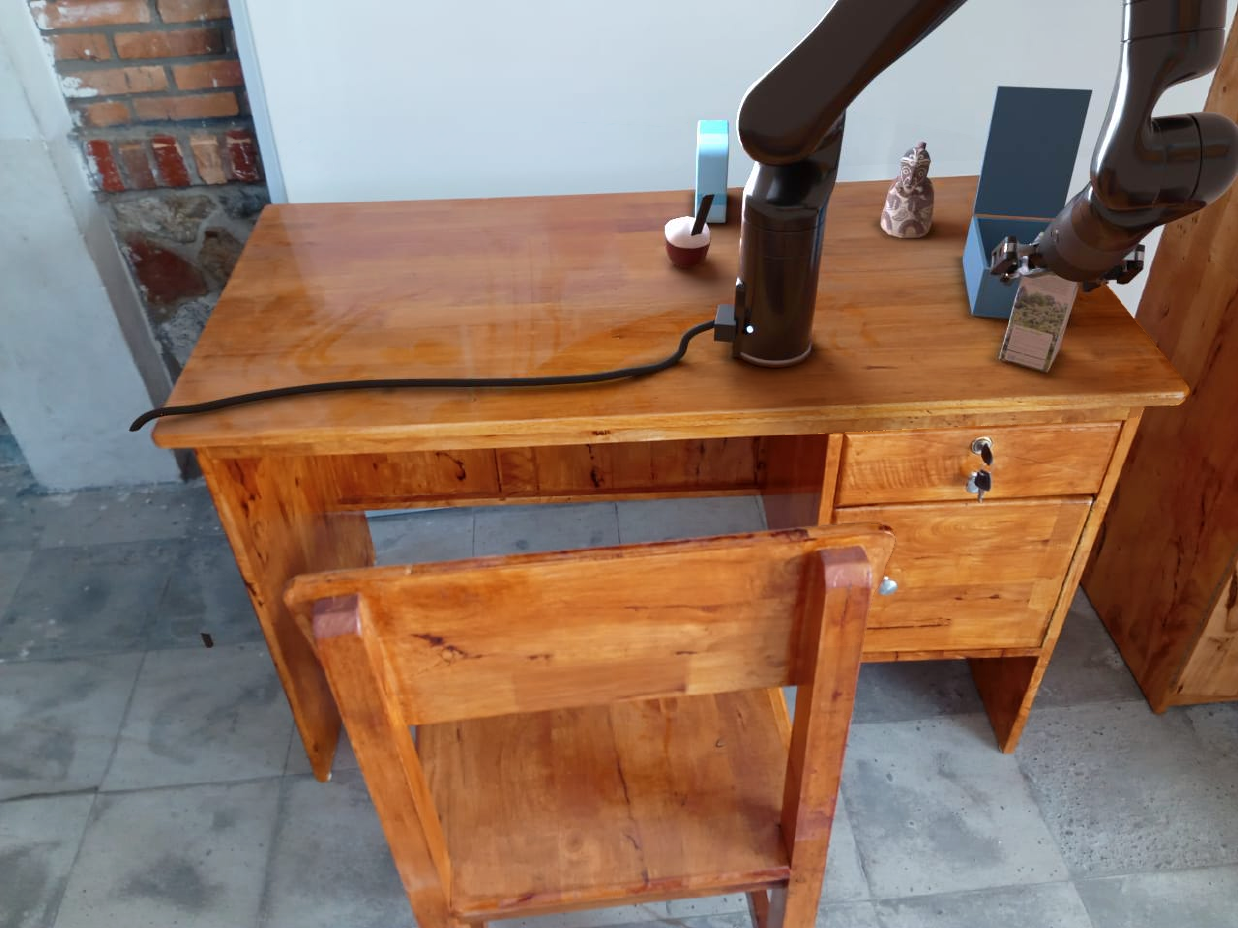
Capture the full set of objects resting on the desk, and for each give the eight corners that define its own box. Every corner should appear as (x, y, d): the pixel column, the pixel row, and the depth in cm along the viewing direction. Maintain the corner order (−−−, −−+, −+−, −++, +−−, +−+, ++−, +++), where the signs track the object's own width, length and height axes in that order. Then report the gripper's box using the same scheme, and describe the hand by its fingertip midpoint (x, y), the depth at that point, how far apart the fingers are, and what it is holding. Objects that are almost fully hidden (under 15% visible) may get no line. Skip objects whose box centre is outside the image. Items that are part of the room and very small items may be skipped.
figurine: (872, 230, 140) (884, 150, 132) (891, 213, 144) (904, 134, 137) (919, 242, 137) (934, 160, 129) (937, 224, 141) (953, 144, 134)
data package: (725, 226, 142) (729, 147, 134) (694, 226, 142) (697, 147, 135) (724, 193, 151) (728, 117, 144) (696, 193, 152) (698, 117, 144)
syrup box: (1059, 351, 114) (1095, 239, 105) (1047, 375, 110) (1082, 261, 101) (1010, 338, 117) (1041, 228, 107) (996, 361, 113) (1027, 249, 104)
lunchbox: (1065, 323, 119) (1080, 275, 115) (971, 316, 121) (983, 269, 117) (1047, 266, 130) (1060, 221, 126) (962, 260, 132) (972, 215, 128)
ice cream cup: (662, 248, 137) (663, 167, 129) (706, 247, 137) (709, 166, 129) (668, 280, 130) (668, 197, 122) (714, 279, 130) (717, 195, 122)
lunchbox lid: (1092, 90, 118) (1091, 89, 118) (998, 86, 120) (997, 85, 120) (1061, 219, 126) (1060, 218, 126) (973, 214, 128) (972, 212, 128)
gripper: (1176, 199, 92) (1115, 253, 108) (1020, 190, 94) (983, 244, 110) (1170, 275, 91) (1109, 318, 107) (1014, 264, 93) (977, 308, 109)
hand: (1045, 281), depth 109 cm, fingers open, 8 cm apart
